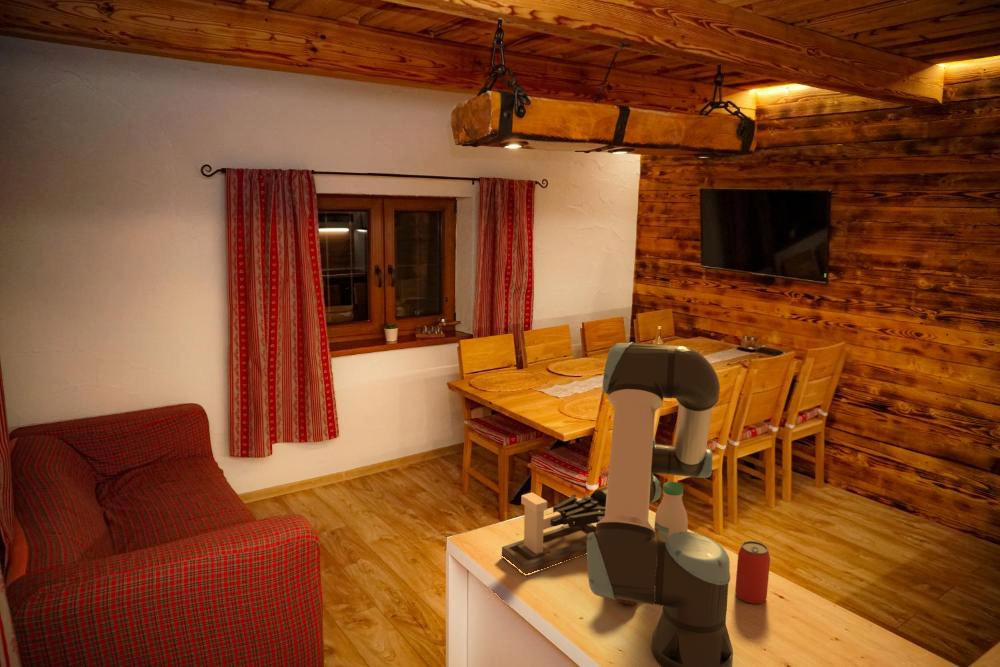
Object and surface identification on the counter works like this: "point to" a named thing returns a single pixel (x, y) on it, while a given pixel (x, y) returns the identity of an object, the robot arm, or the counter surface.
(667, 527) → the milk bottle
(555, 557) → the fader rail
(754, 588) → the beer can
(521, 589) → the counter surface
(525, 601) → the counter surface
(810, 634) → the counter surface
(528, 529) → the fader knob
